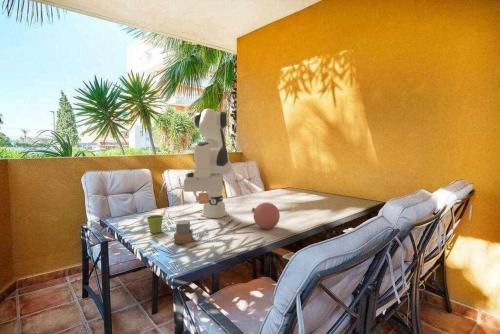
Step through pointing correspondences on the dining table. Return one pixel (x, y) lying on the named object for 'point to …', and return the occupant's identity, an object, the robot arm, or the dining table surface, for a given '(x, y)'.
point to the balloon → (266, 215)
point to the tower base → (183, 237)
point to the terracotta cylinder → (203, 198)
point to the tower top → (182, 227)
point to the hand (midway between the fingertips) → (203, 199)
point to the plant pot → (155, 223)
